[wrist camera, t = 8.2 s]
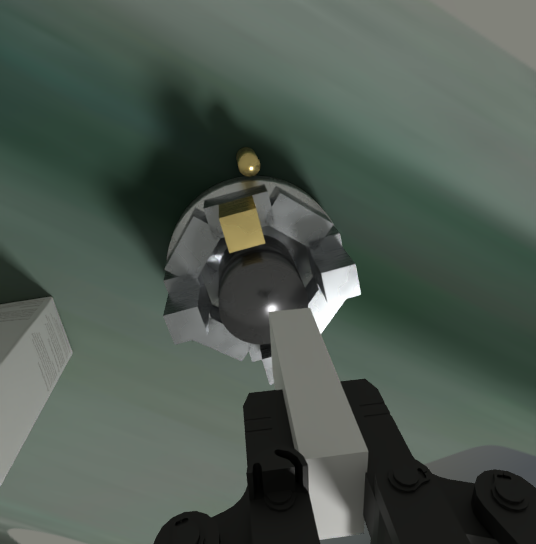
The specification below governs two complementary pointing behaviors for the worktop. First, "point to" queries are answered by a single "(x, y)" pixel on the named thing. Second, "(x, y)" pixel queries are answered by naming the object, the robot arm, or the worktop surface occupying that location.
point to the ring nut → (244, 234)
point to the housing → (254, 267)
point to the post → (247, 162)
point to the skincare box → (27, 369)
